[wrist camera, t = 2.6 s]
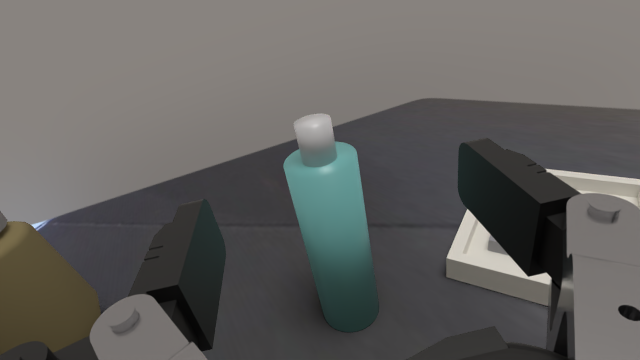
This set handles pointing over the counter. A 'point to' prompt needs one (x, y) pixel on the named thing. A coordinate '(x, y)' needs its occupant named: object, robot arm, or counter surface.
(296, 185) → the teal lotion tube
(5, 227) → the squeeze bottle
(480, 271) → the tray
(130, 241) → the counter surface
